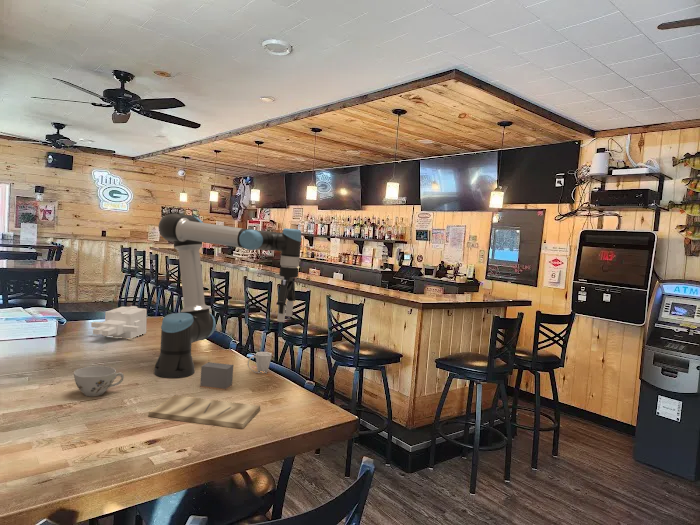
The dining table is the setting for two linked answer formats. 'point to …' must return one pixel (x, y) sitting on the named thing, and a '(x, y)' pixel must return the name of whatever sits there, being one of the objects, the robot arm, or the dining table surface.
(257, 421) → the dining table surface
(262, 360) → the cup
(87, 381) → the teacup
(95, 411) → the dining table surface
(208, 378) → the block
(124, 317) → the white voxel figure
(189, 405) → the board
